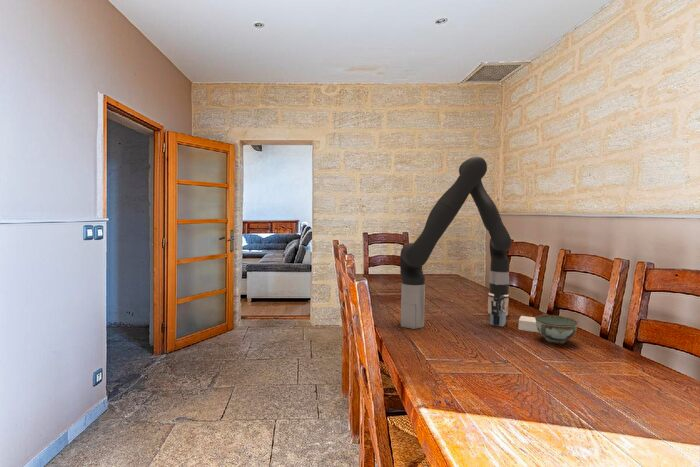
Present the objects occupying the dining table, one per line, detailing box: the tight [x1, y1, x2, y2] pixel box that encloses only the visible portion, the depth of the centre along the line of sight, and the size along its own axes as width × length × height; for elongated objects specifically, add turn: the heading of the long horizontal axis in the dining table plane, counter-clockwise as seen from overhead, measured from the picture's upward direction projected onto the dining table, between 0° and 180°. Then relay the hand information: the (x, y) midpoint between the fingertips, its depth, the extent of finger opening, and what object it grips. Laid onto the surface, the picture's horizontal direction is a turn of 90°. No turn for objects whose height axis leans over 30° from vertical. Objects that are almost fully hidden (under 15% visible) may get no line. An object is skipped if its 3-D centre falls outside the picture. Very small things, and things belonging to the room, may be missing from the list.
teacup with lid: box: [487, 292, 510, 317], centre depth 176 cm, size 12×9×12 cm
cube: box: [489, 310, 507, 327], centre depth 158 cm, size 5×5×5 cm
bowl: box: [534, 314, 578, 345], centre depth 137 cm, size 14×13×8 cm
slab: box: [518, 315, 540, 334], centre depth 153 cm, size 8×8×4 cm
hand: (497, 323), depth 158 cm, fingers closed on cube, 5 cm apart
